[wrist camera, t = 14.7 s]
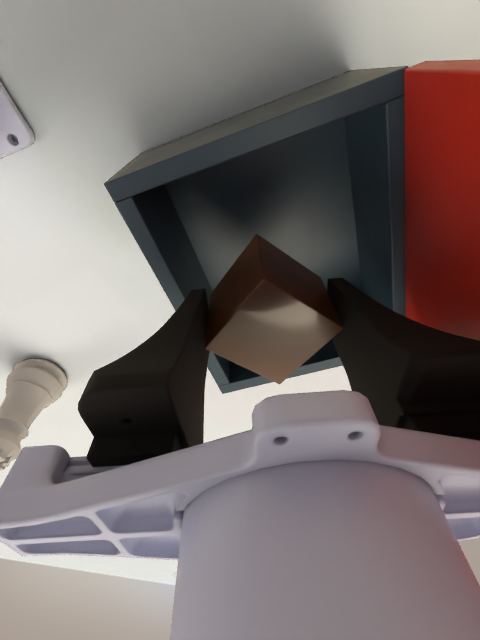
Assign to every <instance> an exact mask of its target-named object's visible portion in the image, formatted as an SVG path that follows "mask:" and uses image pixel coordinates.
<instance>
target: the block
mask: <svg viewBox="0 0 480 640" xmlns="http://www.w3.org/2000/svg"><path fill="white" fill-rule="evenodd" d="M208 308H209V316H208V325H207V331H206V340H205V349H207V350H209V351H211V352H213V353H215V354H217V355H219V356H221V357H223V358H226V359H228V360H230V361H232V362H234V363H236V364H238V365H240V366H242V367H244V368H246V369H249V370H251V371H253V372H255V373H257V374H259V375H261V376H263V377H265V378H267V379H270V380H272V381H274V382H276V383H278V384H281V383H282V382H283V381H284V380H285V379H286V378H287V377H289V376H290V375H291V374H292V373H293V372H294V371H295V370H297V369H298V368H299V367H300V366H301V365H302V364H303V363H305V362H306V361H307V360H308V359H309V358H310V357H311V356H313V355H314V354H315V353H316V352H317V351H318V350H319V349H321V348H322V347H323V346H324V345H325V344H326V343H327V342H329V341H330V340H331V339H332V338H333V337H334V336H335V335H337V334H338V333H339V332H340V331H341V330H342V329H343V328H344V327H343V325H342V323H341V321H340V318H339V316H338V314H337V312H336V310H335V308H334V306H333V305H332V302H331V300H330V298H329V296H328V294H327V290H326V288H325V286H324V284H323V282H322V279H321V277H319V276H318V275H316V274H315V273H313V272H312V271H311V270H309V269H308V268H306V267H305V266H303V265H302V264H300V263H299V262H297V261H296V260H294V259H293V258H292V257H290V256H289V255H287V254H286V253H284V252H283V251H281V250H280V249H278V248H277V247H275V246H274V245H273V244H271V243H270V242H268V241H267V240H265V239H264V238H262V237H261V236H259V235H258V234H256V235H255V236H254V238H253V239H252V240H251V241H250V243H249V244H248V245H247V247H246V248H245V249H244V251H243V252H242V253H241V255H240V256H239V257H238V259H237V260H236V261H235V263H234V264H233V265H232V266H231V268H230V269H229V270H228V272H227V273H226V274H225V276H224V277H223V278H222V280H221V281H220V282H219V284H218V285H217V286H216V288H215V289H214V290H213V291H212V293H211V294H210V296H209V307H208Z"/></svg>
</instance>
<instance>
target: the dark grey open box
mask: <svg viewBox="0 0 480 640" xmlns="http://www.w3.org/2000/svg"><path fill="white" fill-rule="evenodd" d="M407 68H409V67H408V66H402V67H389V68H376V69H363V70H352V71H348V72H345V73H343V74H340V75H338V76H335V77H333V78H330V79H328V80H325V81H323V82H320V83H317V84H315V85H312V86H310V87H307V88H305V89H302V90H300V91H297V92H295V93H292V94H290V95H287V96H285V97H282V98H280V99H277V100H275V101H272V102H269V103H267V104H264V105H262V106H259V107H257V108H254V109H252V110H249V111H247V112H244V113H242V114H239V115H237V116H234V117H232V118H229V119H227V120H224V121H221V122H219V123H216V124H214V125H211V126H209V127H206V128H204V129H201V130H199V131H196V132H194V133H191V134H189V135H186V136H184V137H181V138H179V139H176V140H173V141H171V142H168V143H166V144H163V145H161V146H158V147H156V148H153V149H151V150H148V151H146V152H143V153H141V154H139V155H138V156H137V157H136V158H134V159H133V160H132V161H131V162H130V163H128V164H127V165H126V166H125V167H124V168H122V169H121V170H120V171H119V172H117V173H116V174H115V175H114V176H113V177H111V178H110V179H109V180H108V181H107V182H105V183H104V185H105V187H106V188H107V190H108V192H109V194H110V196H111V197H112V199H113V201H114V202H116V203H115V204H116V206H117V208H118V210H119V212H120V213H121V215H122V217H123V219H124V220H125V222H126V224H127V226H128V227H129V229H130V231H131V233H132V234H133V236H134V238H135V240H136V242H137V243H138V245H139V247H140V249H141V250H142V252H143V254H144V256H145V257H146V259H147V261H148V263H149V265H150V266H151V268H152V270H153V272H154V273H155V275H156V277H157V279H158V280H159V282H160V284H161V286H162V288H163V289H164V291H165V293H166V295H167V296H168V298H169V300H170V302H171V303H172V305H173V307H174V309H175V311H176V310H177V309H178V308H179V307H180V305H181V304H182V303H183V301H184V300H185V298H186V297H187V296H188V294H189V293H190V291H191V290H192V289H205V290H206V296H207V302H208V307H209V296H210V294H211V293H212V291H213V290H214V289H215V288H216V286H217V285H218V284H219V282H220V281H221V280H222V278H223V277H224V276H225V274H226V273H227V272H228V270H229V269H230V268H231V266H232V265H233V264H234V263H235V261H236V260H237V259H238V257H239V256H240V255H241V253H242V252H243V251H244V249H245V248H246V247H247V245H248V244H249V243H250V241H251V240H252V239H253V238H254V236H255V235H256V234H258V235H259V236H261V237H262V238H264V239H265V240H267V241H268V242H270V243H271V244H273V245H274V246H275V247H277V248H278V249H280V250H281V251H283V252H284V253H286V254H287V255H289V256H290V257H292V258H293V259H294V260H296V261H297V262H299V263H300V264H302V265H303V266H305V267H306V268H308V269H309V270H311V271H312V272H313V273H315V274H316V275H318V276H319V277H321V279H322V282H323V284H324V286H325V288H326V290H327V286H328V279H332V278H343V279H345V280H346V281H348V282H349V283H351V284H352V285H353V286H355V287H356V288H358V289H359V290H360V291H362V292H363V293H365V294H366V295H368V296H369V297H371V298H372V299H374V300H375V301H377V302H379V303H380V304H382V305H384V306H385V307H387V308H389V309H391V310H393V311H394V312H396V313H398V314H401V315H403V316H405V317H406V274H405V69H407ZM342 365H343V364H342V361H341V359H340V357H339V355H338V352H337V350H336V348H335V346H334V343H333V341H332V339H331V340H330V341H329V342H327V343H326V344H325V345H324V346H323V347H322V348H321V349H319V350H318V351H317V352H316V353H315V354H314V355H313V356H311V357H310V358H309V359H308V360H307V361H306V362H305V363H303V364H302V365H301V366H300V367H299V368H298V369H297V370H295V371H294V372H293V373H292V374H291V375H290V376H289V377H287V378H291V377H295V376H300V375H304V374H308V373H312V372H317V371H321V370H325V369H329V368H333V367H338V366H342ZM207 367H208V369H209V371H210V372H211V374H212V376H213V378H214V379H215V381H216V383H217V385H218V387H219V388H220V390H221V392H222V394H224V393H228V392H232V391H236V390H241V389H245V388H249V387H253V386H257V385H262V384H266V383H270V382H274V381H272V380H270V379H267V378H265V377H263V376H261V375H259V374H257V373H255V372H253V371H251V370H249V369H246V368H244V367H242V366H240V365H238V364H236V363H234V362H232V361H230V360H228V359H226V358H223V357H221V356H219V355H217V354H215V353H213V352H211V351H210V352H209V358H208V365H207ZM287 378H286V379H287Z"/></svg>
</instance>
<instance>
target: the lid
mask: <svg viewBox="0 0 480 640" xmlns="http://www.w3.org/2000/svg"><path fill="white" fill-rule="evenodd" d="M405 274H406V317H407V318H409V319H411V320H414V321H416V322H419V323H421V324H424V325H426V326H429V327H432V328H435V329H438V330H441V331H444V332H447V333H451V334H454V335H458V336H462V337H466V338H471V339H475V340H479V341H480V60H451V61H425V62H422V63H420V64H417V65H414V66H412V67H409V68H407V69H405Z"/></svg>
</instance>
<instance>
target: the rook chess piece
mask: <svg viewBox="0 0 480 640" xmlns="http://www.w3.org/2000/svg"><path fill="white" fill-rule="evenodd" d="M67 383H68V382H67V379H66V376H65V374H64V371H63V370H62V369H61V368H60V367H59V366H57V365H55V364H54V363H52V362H50V361H46V360H43V359H29V360H25V361H22V362H18V363H17V364H16V365H15V366H14V367H13V371H12V372H11V373H10V374H9V375H8V377H7V383H6V386H7V388H6V397H5V399H4V401H3V403H2V405H1V407H0V470H3V469H5V467H8V465H9V463H10V462H11V461H12V460H14V459H16V458H18V456H19V454H20V452H21V447H20V441H21V440H22V439H24V438H26V437H27V436H28V429H29V427H30V425H31V424H32V422H33V421H34V420H35V418H36V417H37V416H38V415H39V413H40V412H41V411H42V410H43V409H44V408H46V407H48V406H49V405H50V404H51V403H54V402H55V401H56V400H57V399H58V398H59V397H60V396H61V395H62V391H63V390H65V389H66V387H67Z"/></svg>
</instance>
